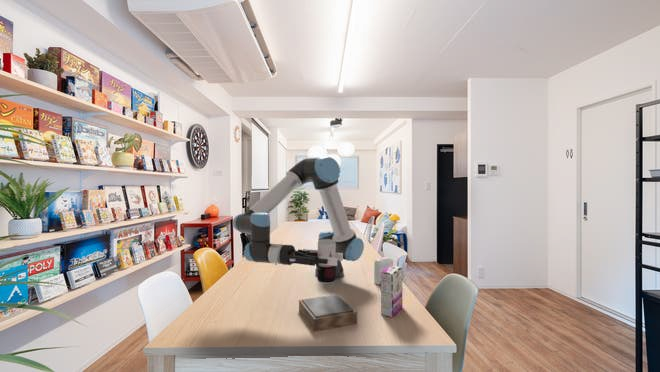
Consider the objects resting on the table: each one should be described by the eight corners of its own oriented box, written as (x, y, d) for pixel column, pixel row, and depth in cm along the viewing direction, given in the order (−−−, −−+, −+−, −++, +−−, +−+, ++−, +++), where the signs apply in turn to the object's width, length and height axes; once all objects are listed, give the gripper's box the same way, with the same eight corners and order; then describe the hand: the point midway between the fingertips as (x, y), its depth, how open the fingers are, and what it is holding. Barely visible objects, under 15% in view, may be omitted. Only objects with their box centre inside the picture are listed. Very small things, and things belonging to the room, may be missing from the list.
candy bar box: (390, 304, 127) (391, 264, 126) (402, 307, 124) (403, 266, 124) (379, 315, 117) (380, 271, 117) (392, 318, 115) (392, 273, 114)
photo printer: (388, 279, 159) (388, 255, 159) (394, 281, 155) (394, 256, 155) (372, 283, 153) (373, 258, 153) (378, 285, 150) (379, 259, 149)
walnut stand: (336, 304, 127) (336, 293, 127) (357, 323, 111) (357, 310, 111) (299, 310, 121) (299, 299, 121) (314, 331, 105) (314, 318, 105)
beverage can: (333, 277, 119) (333, 238, 119) (336, 283, 113) (337, 242, 113) (316, 278, 118) (316, 239, 118) (318, 284, 112) (319, 242, 112)
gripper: (293, 258, 130) (346, 262, 123) (270, 271, 112) (331, 277, 105) (293, 240, 130) (346, 243, 123) (270, 250, 112) (331, 255, 105)
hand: (339, 259), depth 114 cm, fingers closed on beverage can, 6 cm apart
